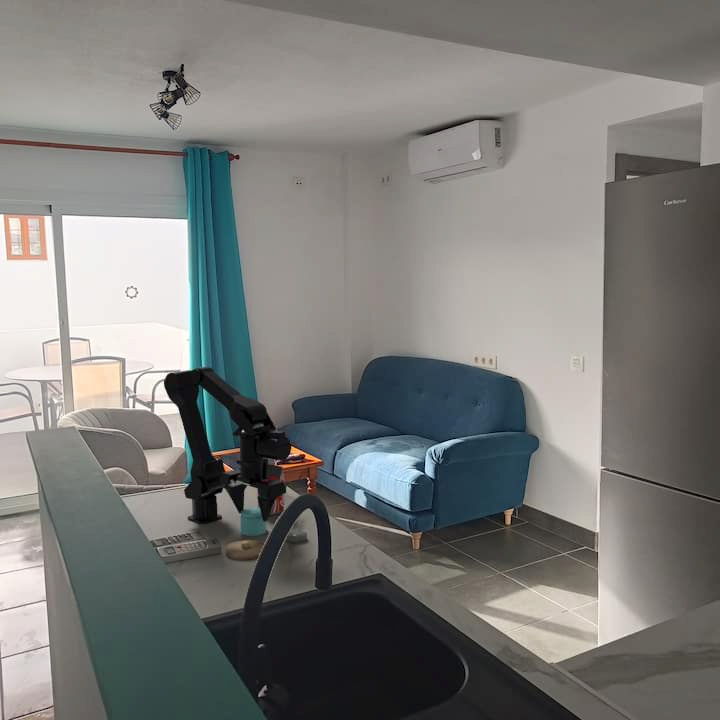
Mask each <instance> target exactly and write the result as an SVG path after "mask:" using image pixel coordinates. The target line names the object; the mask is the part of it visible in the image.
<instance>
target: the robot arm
mask: <svg viewBox="0 0 720 720" xmlns="http://www.w3.org/2000/svg"><path fill="white" fill-rule="evenodd" d="M163 387H164V389H165V391H166V395H167V396H168V399H169V400H170V401H172V403H173V404H174V405H175V406H176V407H177V408H178V413H179V416H180V419H181V424H182V427H183V430H184V433H185V436H186V440H187V443H188V444H187V445H188V447H189V451H190V453H191V454H190V455H191V457H192V464H191V467H190V472H189V474H190V480H191V481H190V482H189V483H188V485H187V486H185V488H184V489H183V492H184V495H185V496H184V497H185V498H186V499H190V500H191V507H192V515H188V516H187V519H188V520H189V521H192V522H193V521H194V522H196V523H199V524H202V525H203V524H206V523H209V522H210V523H211V522H213V521H215V520H219V519H222V517H223V516H222V515H221V514H218V502H217V498H218V497H217V494H222V493H223V490H225V491H226V492H227V494H228V496H229V498H230V500H231V501H232V503H233V504H234V507H235V508H236V510H237V513H238V514H240V515H241V511H242V510H244V509H245V490H246V488H247V487H251V488H255V489H257V497H256V498H257V504H258V503H259V507H260V511H261V515H262V518H263V521H264V522H265V521H266V522H268V521H269V519H270V518H269V517H270V512H271V509H272V506H273V504H274V502H275V500H276V499H277V498H278V497H279V496H282V494H284V495H285V494H287V483H285V481H284V482H282V481H279V480H275V479H273V480H270V481H266V482H263V481H264V480H267V479H270V477H275V478H277V479H280V478H281V473H282V472H283V469H284V467H283V466H281V465H277V464H272V463H269V459H270V460H275V461H282V462H283V461H286V460H287V459H288V458H289V457H290V455H291V452H292V443H291V440H290V439H289V438H288V437H287V436H286V431H281V430H278V431H277V427H276V426H275V424H274V422H273V420H272V418H271V417H270V414H269V413H268V411H267V408H266V406H265V405H264V404H263V403H261V402H260V401H258V400H256V399H254V398H252V397H248V396H245V395H243V394H241V393H240V392H238V390H236V389H235V388H234V387H233V386H231V385H230V384H229V383H228V382H227V381H225V380H224V379H223V378H222V377H220V376H219V374H217V373H216V372H215V371H214V368H212V367H210V366H201V367H195V368H194V369H191V370H190V369H187V370H181V371H174V372H169V373H167V374H166V375H165V379H164V380H163ZM200 387H201V388H202V389H203V390H204V391H206V392H207V393H208V394H209V395H210V396H211V397H212V398H214V400H216V401H217V402H218V403H220V404H221V405H222V406H223V407H224V408H226V410H227V411H228V414H229V417H230V419H231V420H232V421H233V422H234V424H235V425H236V426H237V428H236V430H234V431H233V432H232V436H234V437H239V458H238V459H236V465H239V468H240V469H232V470H228V471H226V469H225V465H224V461H223V459H222V458H220V459H217V458H216V457H215V456H214V455H213V452H212V450H211V447H210V443H209V439H208V436H207V432H206V429H205V425H204V422H203V418H202V415H201V411H200V408H199V404H198V398H199V394H200ZM258 494H259V495H260V496H258ZM259 507H258V508H259Z"/></svg>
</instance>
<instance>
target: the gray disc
mask: <svg viewBox="0 0 720 720" xmlns="http://www.w3.org/2000/svg"><path fill="white" fill-rule="evenodd" d="M289 532H290V533H289V535H288V536H287V539H286V538H285V541H286V542H287V543H290V544H301V543H305V542H306V541H307V540H308V533H307V532H306V531H303V530H302V531H301V530H292V531H289Z"/></svg>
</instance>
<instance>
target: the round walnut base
mask: <svg viewBox="0 0 720 720" xmlns="http://www.w3.org/2000/svg"><path fill="white" fill-rule="evenodd" d="M264 543H265V542H263V541H261V540H257V539H256V540H255V539H243V540H242V539H241V540H235V541H233V542H231V543H230V542H229V543H228V544H227V545H226V547H225V554H226V557H228V558H230V559H233V560H240V561H241V560H242V561H243V560H244V561H245V560H252V559H257V558H259V557H258V556H259V553H260V552H261V549H262V547H263V545H264Z"/></svg>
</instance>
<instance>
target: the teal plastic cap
mask: <svg viewBox="0 0 720 720" xmlns="http://www.w3.org/2000/svg"><path fill="white" fill-rule="evenodd" d="M266 533H267V521H265V522H264V521H263V518H262V515H261V511H260V508H259V507H249V508H244V510H242V511H241V514H240V534H241V535H244V536H247V537H253V536H255V537H256V536H261V535H264V534H266Z"/></svg>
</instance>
